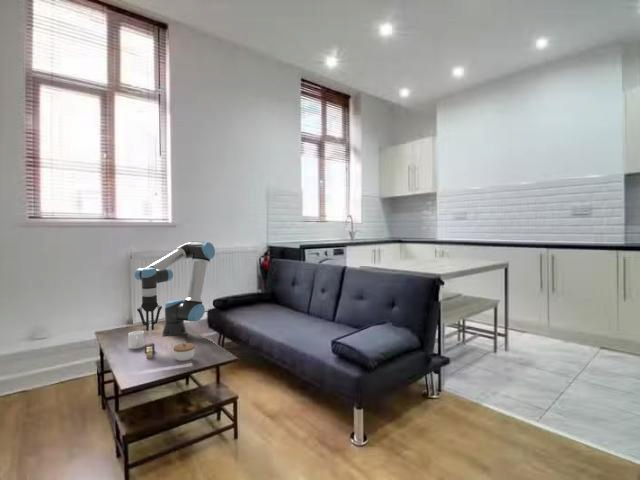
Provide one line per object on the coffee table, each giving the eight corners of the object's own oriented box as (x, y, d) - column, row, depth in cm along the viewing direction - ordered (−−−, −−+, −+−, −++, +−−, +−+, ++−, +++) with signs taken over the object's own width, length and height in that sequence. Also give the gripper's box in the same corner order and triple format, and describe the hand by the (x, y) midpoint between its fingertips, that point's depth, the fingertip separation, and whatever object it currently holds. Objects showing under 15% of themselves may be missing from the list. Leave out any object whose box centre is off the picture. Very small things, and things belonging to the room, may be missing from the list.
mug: (129, 354, 194) (129, 337, 194) (128, 348, 204) (128, 331, 204) (144, 351, 198) (144, 335, 198) (143, 345, 208) (143, 329, 208)
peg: (144, 350, 195) (144, 343, 195) (154, 349, 198) (154, 342, 197) (144, 359, 183) (144, 351, 183) (154, 357, 185) (154, 350, 185)
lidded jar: (177, 357, 191) (177, 340, 190) (197, 356, 192) (197, 340, 191) (170, 364, 180) (170, 347, 180) (191, 364, 181) (191, 346, 181)
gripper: (161, 293, 200) (162, 332, 201) (136, 295, 194) (137, 335, 195) (162, 295, 193) (163, 336, 194) (136, 297, 187) (137, 339, 188)
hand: (150, 336), depth 195 cm, fingers closed
